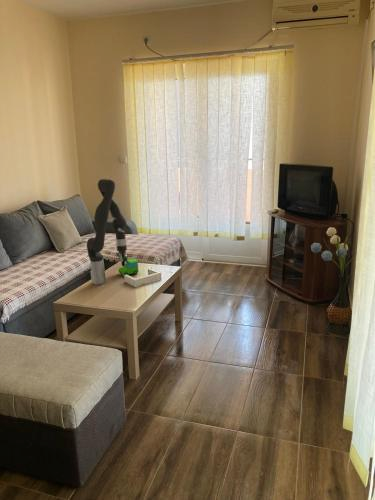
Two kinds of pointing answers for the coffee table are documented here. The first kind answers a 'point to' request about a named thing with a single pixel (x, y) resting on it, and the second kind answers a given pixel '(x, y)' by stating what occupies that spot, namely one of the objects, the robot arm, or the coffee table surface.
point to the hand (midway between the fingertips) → (123, 266)
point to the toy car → (129, 267)
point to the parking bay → (143, 278)
